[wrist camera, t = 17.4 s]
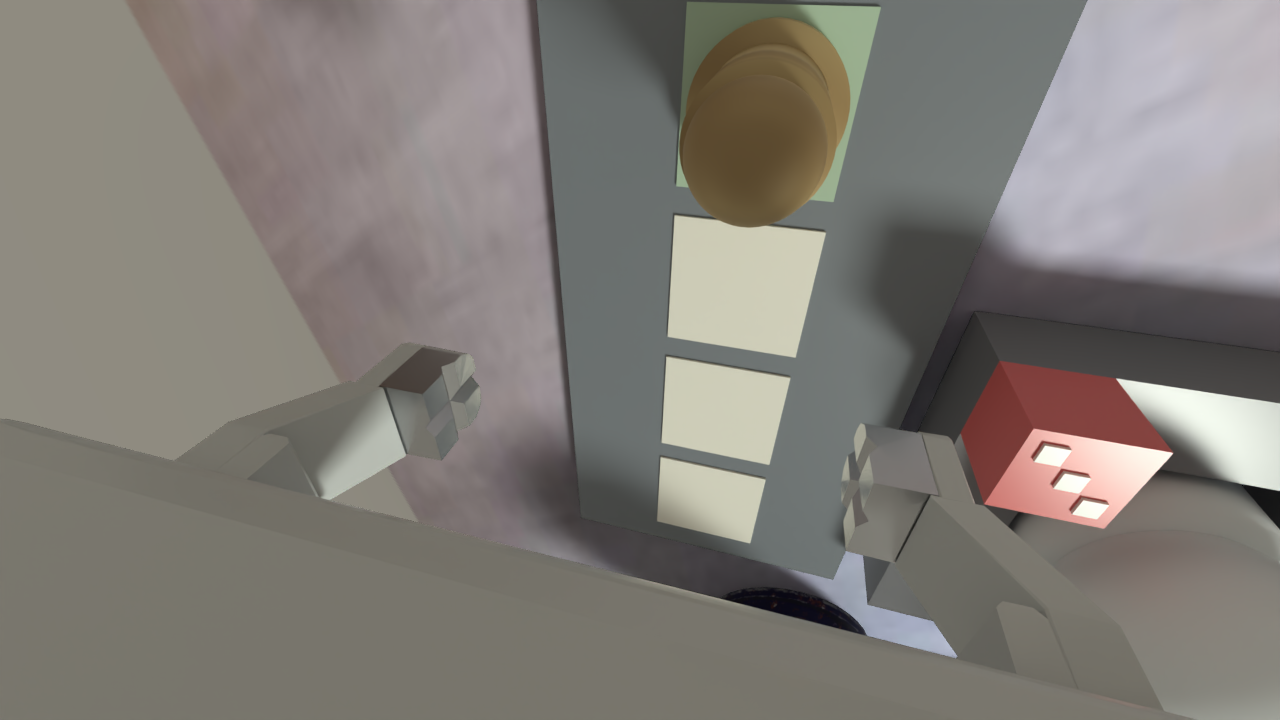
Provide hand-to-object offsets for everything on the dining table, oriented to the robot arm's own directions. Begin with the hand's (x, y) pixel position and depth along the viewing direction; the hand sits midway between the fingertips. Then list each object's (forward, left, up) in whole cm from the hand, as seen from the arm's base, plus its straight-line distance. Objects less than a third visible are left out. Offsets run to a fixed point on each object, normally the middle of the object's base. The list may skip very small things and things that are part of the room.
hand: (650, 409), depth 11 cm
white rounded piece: (-9, -16, -8) cm, 20 cm away
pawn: (+4, -1, -9) cm, 10 cm away
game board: (-5, -1, -10) cm, 11 cm away
